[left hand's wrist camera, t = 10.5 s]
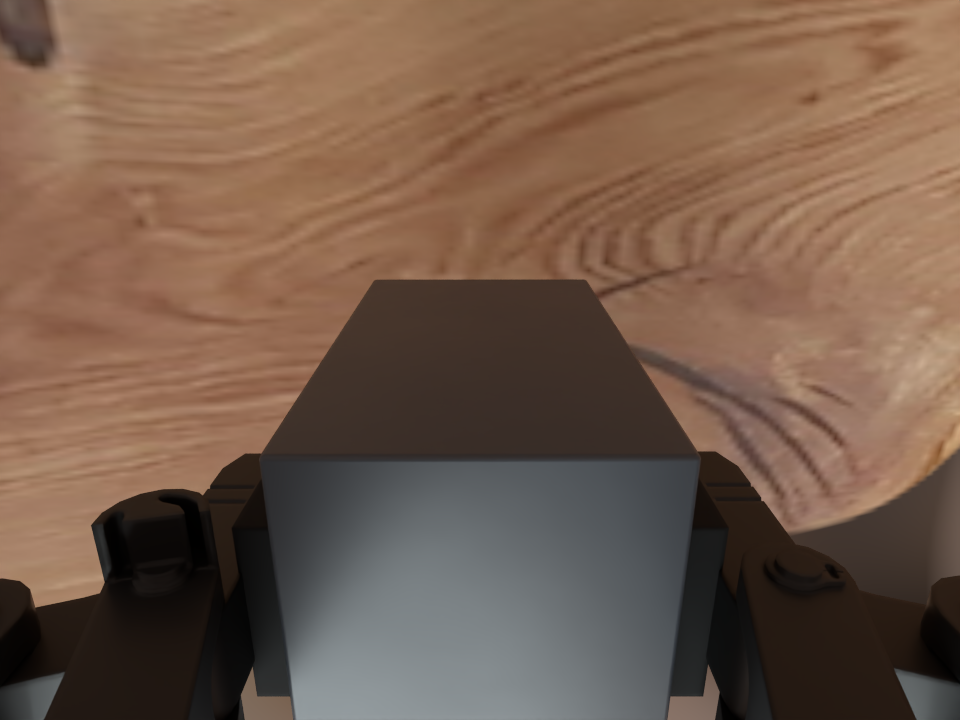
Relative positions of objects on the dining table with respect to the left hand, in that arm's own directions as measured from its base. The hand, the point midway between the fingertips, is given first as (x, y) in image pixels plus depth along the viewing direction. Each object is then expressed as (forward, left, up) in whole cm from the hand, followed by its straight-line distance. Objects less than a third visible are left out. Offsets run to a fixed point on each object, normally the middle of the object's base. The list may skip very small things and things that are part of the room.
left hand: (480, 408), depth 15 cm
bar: (+8, -4, -1) cm, 8 cm away
